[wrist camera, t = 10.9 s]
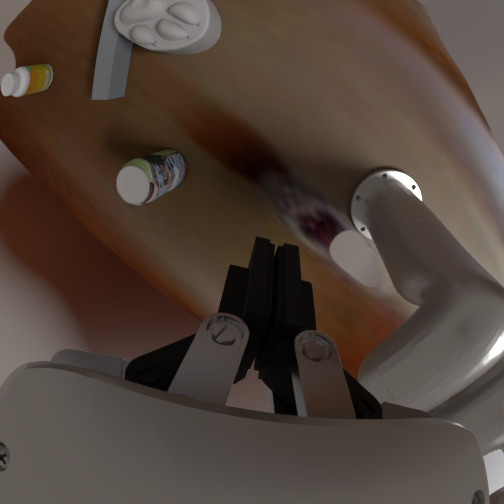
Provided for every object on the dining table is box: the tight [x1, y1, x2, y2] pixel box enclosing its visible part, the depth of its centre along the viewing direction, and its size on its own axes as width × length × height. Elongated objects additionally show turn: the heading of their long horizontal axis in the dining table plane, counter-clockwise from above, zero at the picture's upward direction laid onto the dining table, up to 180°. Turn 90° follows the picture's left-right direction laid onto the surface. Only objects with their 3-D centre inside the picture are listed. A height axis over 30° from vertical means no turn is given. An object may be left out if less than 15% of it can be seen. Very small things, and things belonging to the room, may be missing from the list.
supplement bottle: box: [1, 64, 53, 97], centre depth 29 cm, size 5×5×10 cm
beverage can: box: [117, 149, 188, 205], centre depth 37 cm, size 6×7×12 cm
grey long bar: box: [92, 0, 133, 100], centre depth 27 cm, size 3×24×5 cm, turn 168°
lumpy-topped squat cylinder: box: [114, 0, 221, 55], centre depth 26 cm, size 10×13×9 cm
